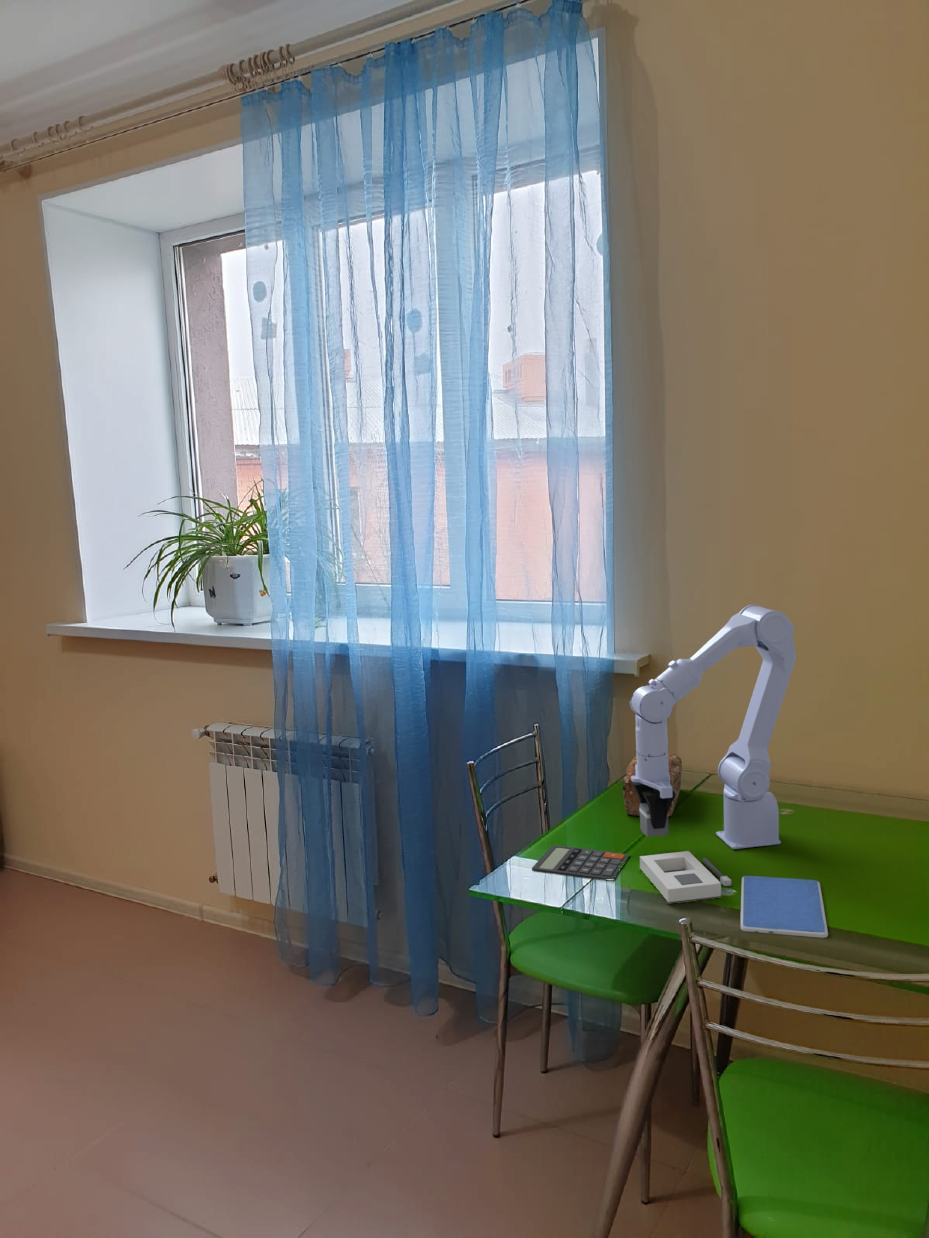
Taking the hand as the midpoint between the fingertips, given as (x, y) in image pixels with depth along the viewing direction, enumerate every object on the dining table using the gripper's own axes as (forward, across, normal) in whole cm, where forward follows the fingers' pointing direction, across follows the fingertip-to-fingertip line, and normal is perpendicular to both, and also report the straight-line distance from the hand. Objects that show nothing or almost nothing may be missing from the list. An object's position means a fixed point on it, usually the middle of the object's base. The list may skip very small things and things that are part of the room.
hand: (654, 823), depth 176 cm
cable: (+5, +12, +6) cm, 15 cm away
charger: (+2, 0, 0) cm, 2 cm away
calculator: (+6, +2, -15) cm, 16 cm away
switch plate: (+5, +15, -1) cm, 16 cm away
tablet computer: (+6, +27, +11) cm, 30 cm away
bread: (+6, -25, +8) cm, 27 cm away
